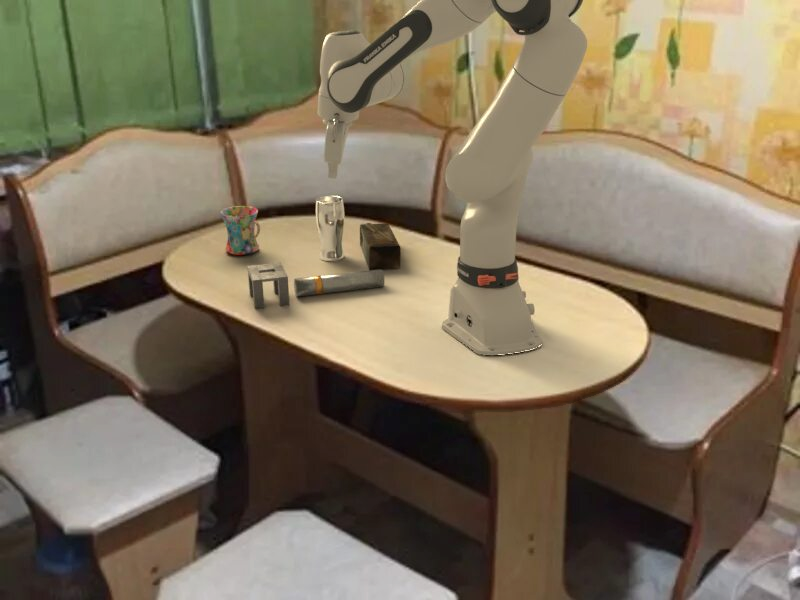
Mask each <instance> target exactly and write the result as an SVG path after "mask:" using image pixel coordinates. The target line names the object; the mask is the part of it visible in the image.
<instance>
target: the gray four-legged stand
mask: <svg viewBox="0 0 800 600" xmlns="http://www.w3.org/2000/svg"><path fill="white" fill-rule="evenodd" d="M247 276H248V277H247V278H248V279H247V280H248V290H249V292H248V293H249V296H250V297H253V307H254V310H259V309H265V297H264V296H265V295H264V284H263V283H265V282H273V284H272V285H273V292H274V294H278V304H279V306H280V307H285V306H290V293H289V276H288V274H287V272H286V270H285V269H284V266H283V263H282V262H273V263H272V262H271V263H265V264H263V263H262V264H254V265H247Z"/></svg>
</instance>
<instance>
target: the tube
mask: <svg viewBox="0 0 800 600" xmlns="http://www.w3.org/2000/svg"><path fill="white" fill-rule="evenodd" d="M384 286H385V273H384V271H383V270H382V269H378V270H369V269H368V270H362V271H360V270H359V271H353V272H343V273H335V274H334V273H333V274H326V275H325V274H324V275H314V276H309V277H308V276H307V277H299V278H297V277H296V278H294V279H293V288H294V293H295V294H294V295H295V296H296V297H304V296H312V295H315V296H316V295H323V294H330V293H339V292H348V291H355V290H356V291H357V290H364V289H365V290H366V289H375V288H383V287H384Z"/></svg>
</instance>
